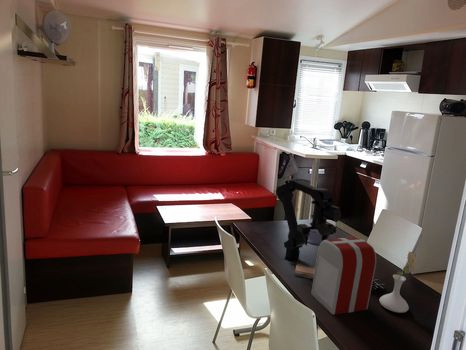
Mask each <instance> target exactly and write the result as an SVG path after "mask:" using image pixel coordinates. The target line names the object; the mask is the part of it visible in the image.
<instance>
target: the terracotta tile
mask: <svg viewBox="0 0 466 350" xmlns="http://www.w3.org/2000/svg"><path fill="white" fill-rule="evenodd" d="M314 268H315V267H314ZM314 268H309V267H303V266H298V265H297V264H296V265H295V271H296V272H300V273H305V274H309V275H313V276H314V272H315V269H314Z"/></svg>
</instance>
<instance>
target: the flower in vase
mask: <svg viewBox="0 0 466 350" xmlns="http://www.w3.org/2000/svg"><path fill="white" fill-rule="evenodd" d="M408 251H409V250H408ZM406 259H407V262H406V264H405V265H404V266H403V268H402V270H401V271H400V270H398V271H397V272H396V273H397V274H393V275H392V277H393V280H394V285H393V286H394V287H393V291H392V292H390V293H386V294H383V295H382V296H380V298H379V303H380V305H381V306H382V307H384V308H385V309H387V310H389V311H391V312H394V313H399V314H401V313H402V314H403V313H406V312H407V311H409V309H410V308H409V307H410V306H409V305H408V303H407V301H406V299H404V298H403V296H401V294H400V291H401V287H402V284H403V283H404V282H405V281H406V280H407V278H406V277H405V276H403V275H404V273H405V274H408V273H409V272H410V271H414V272H416V271H417V270H418V262H419V261H417V257H416V255H414V252H413V251H409V252H408V253H407V258H406ZM407 265H408V266H409V268H410V269H409V268H408V267H407ZM403 272H404V273H403Z"/></svg>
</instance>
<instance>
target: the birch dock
mask: <svg viewBox="0 0 466 350" xmlns="http://www.w3.org/2000/svg"><path fill="white" fill-rule="evenodd" d="M296 265H298V266H303V267H309V268H314V269H315V267H313V266H309V265H304V264H301V263H300V264H299V263H297V264H296ZM293 276H297V277H302V278H305V279H310V280H313V279H314V276H313V275H309V274H305V273H300V272H296V270H295V271H294V274H293Z"/></svg>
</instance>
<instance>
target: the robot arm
mask: <svg viewBox="0 0 466 350" xmlns="http://www.w3.org/2000/svg"><path fill="white" fill-rule="evenodd" d="M296 190H297V191H299V192H302V193H304V194H307V195H309V196H310V198H311V199H313V200H312V201H311V202H310V203H311V204H313V205H314V207H313V211H312V214H311V215H310V216H311V218H312V219H311V222H310V223H309V225H310V226H308V225H307V224H305V223H299V224H298V221H297V215H296V212H295V209H294V205H293V199H294V192H295V191H296ZM275 192H276V193H275V194H276V196H277V198H278V200H279V201H280V202H281V204H282V207H283V211H284V214H285V218H286V222H287V226H288V234H287V240H286V241H284V242H283V247H284V248H285V256H284V260H288V261H291V262H296V263H297V262H298V260H299V259H300V254H301V250H300V249H301V248H303V246H304V245H305V246H306V247H307V246H308V243H307V242H308V236H309V235H310V234H309V233H310V231H311V230H317V231H318V232H319V234H320V235H322V240H321V242H322V241H323V240H327V238H328V237H329V236H330V235H332V236H333V235H334V234H336V233H337V227H336V226H335V225H334V224H333V223H327V219H328V220H330V221H332V222H334V223H337V222H339V221H340V220H341V219H342V211H341V210H340V209H341V208H340V207H339V206H336V205H335V202H334V200H333V197H332V194H331V191H330V190H329V188H324V187H315V186H312V185H310V184H307V183H305V182H303V181H301V180H299V179H290V180H289V181H287V182H285V183H284V184H281V185H279V186H278V187H276V190H275Z"/></svg>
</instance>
